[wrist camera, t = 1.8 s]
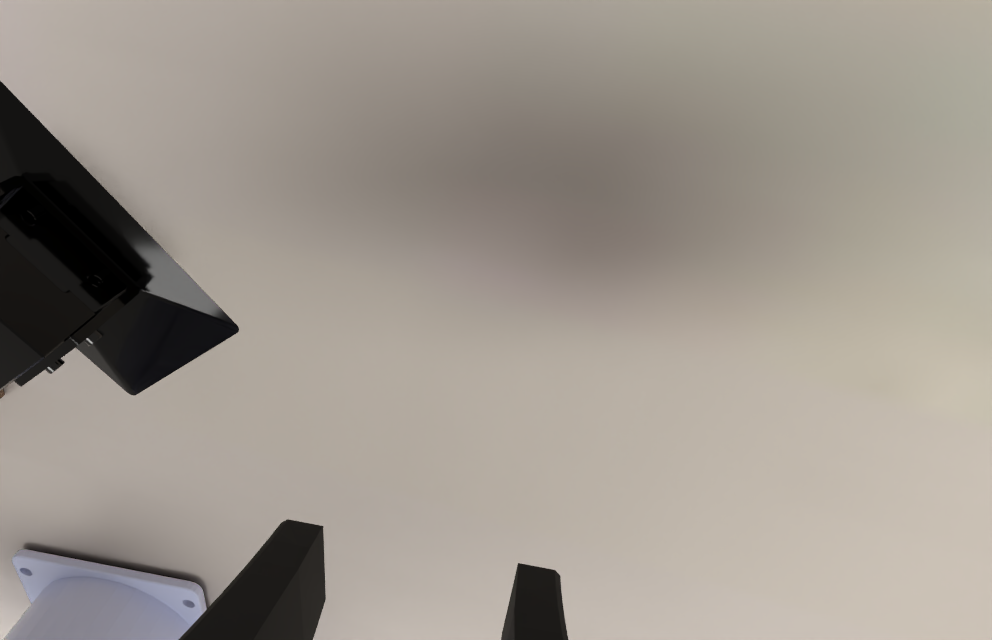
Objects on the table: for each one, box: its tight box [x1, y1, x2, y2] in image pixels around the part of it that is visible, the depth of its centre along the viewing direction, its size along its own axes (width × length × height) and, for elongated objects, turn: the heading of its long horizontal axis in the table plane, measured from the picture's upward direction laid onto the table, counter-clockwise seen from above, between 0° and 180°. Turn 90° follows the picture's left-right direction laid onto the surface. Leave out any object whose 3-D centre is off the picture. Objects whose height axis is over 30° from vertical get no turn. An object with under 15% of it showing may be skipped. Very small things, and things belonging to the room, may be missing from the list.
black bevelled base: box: [0, 81, 239, 395], centre depth 17 cm, size 12×7×5 cm, turn 35°
